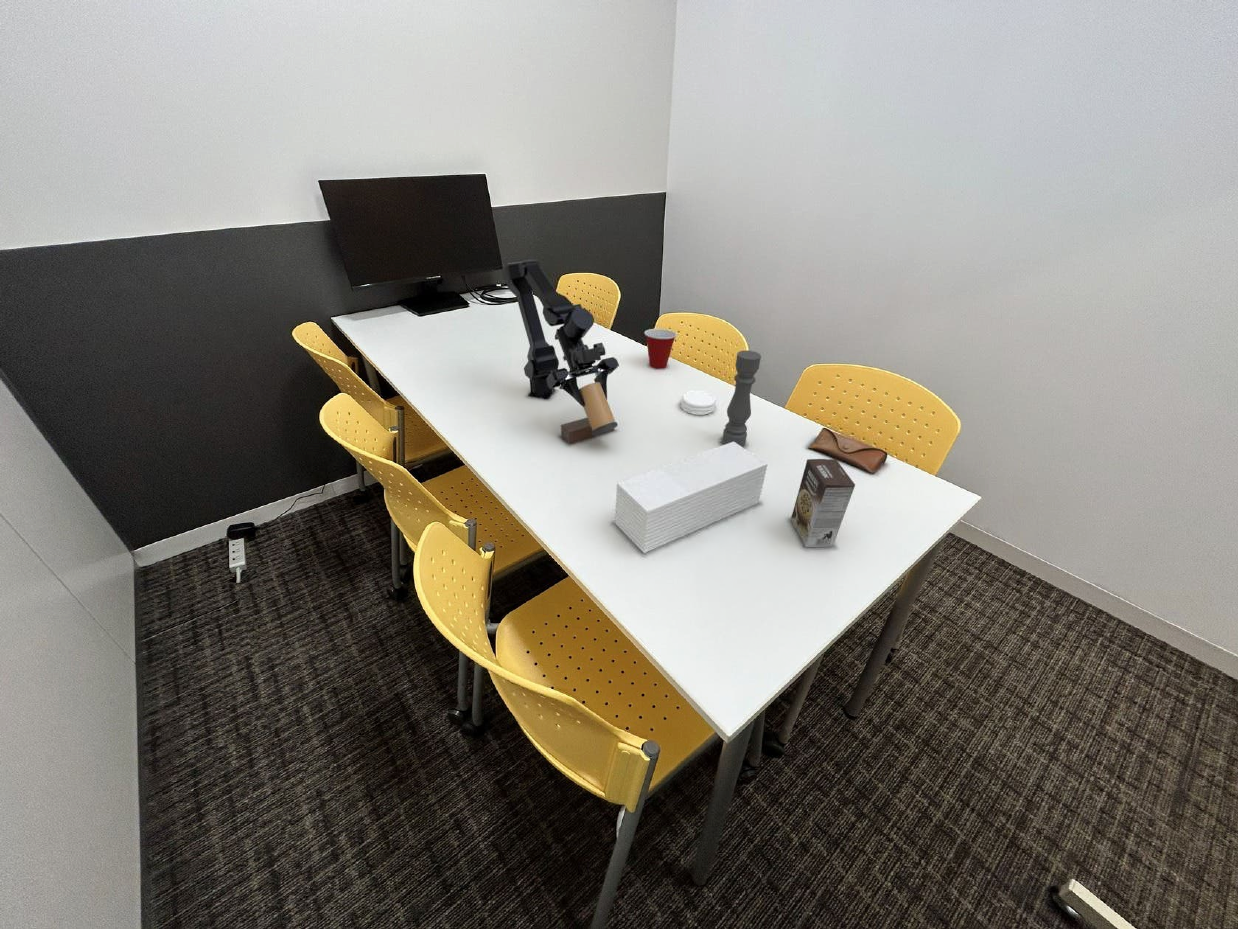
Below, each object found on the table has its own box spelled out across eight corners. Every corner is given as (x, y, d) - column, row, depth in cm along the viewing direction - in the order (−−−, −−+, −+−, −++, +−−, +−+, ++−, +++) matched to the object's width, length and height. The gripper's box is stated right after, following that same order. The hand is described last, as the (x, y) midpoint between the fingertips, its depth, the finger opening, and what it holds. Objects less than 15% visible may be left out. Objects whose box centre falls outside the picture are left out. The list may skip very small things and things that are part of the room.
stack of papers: (643, 553, 106) (647, 511, 100) (615, 523, 114) (616, 482, 108) (758, 503, 121) (767, 463, 115) (726, 479, 129) (733, 441, 122)
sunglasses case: (806, 447, 141) (817, 423, 140) (812, 449, 147) (823, 427, 146) (874, 474, 131) (886, 449, 130) (878, 476, 137) (890, 452, 136)
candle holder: (746, 439, 144) (763, 352, 130) (743, 450, 139) (760, 361, 125) (723, 435, 146) (738, 348, 132) (719, 446, 141) (734, 357, 127)
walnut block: (560, 436, 142) (560, 424, 140) (605, 423, 149) (605, 411, 147) (569, 444, 139) (568, 432, 137) (614, 430, 146) (614, 418, 144)
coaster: (673, 407, 158) (675, 396, 156) (693, 396, 164) (695, 386, 163) (701, 419, 153) (702, 408, 151) (720, 407, 159) (722, 397, 157)
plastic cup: (674, 360, 187) (677, 327, 181) (673, 373, 178) (677, 338, 172) (643, 358, 188) (645, 325, 181) (641, 370, 179) (643, 336, 172)
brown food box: (789, 519, 117) (805, 458, 108) (817, 518, 117) (836, 457, 108) (804, 548, 109) (824, 484, 100) (834, 547, 110) (856, 484, 101)
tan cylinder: (573, 423, 142) (572, 379, 135) (595, 417, 145) (595, 373, 138) (598, 445, 133) (599, 399, 126) (621, 438, 136) (623, 393, 129)
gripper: (549, 339, 125) (573, 400, 124) (616, 326, 134) (639, 383, 133) (536, 359, 135) (558, 415, 134) (599, 346, 144) (620, 399, 143)
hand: (595, 403), depth 135 cm, fingers closed on tan cylinder, 6 cm apart
